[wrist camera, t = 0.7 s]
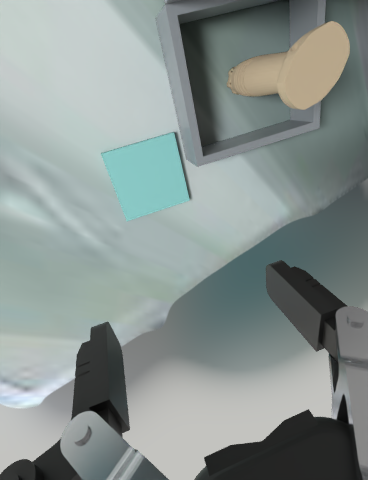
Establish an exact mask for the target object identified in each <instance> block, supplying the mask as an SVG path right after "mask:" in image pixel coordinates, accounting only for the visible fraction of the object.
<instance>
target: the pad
mask: <svg viewBox="0 0 368 480" xmlns="http://www.w3.org/2000/svg"><path fill="white" fill-rule="evenodd" d="M101 155H102V158H103V160H104V163H105V166H106V168H107V171H108V173H109V176H110V178H111V181H112V184H113V186H114V189H115V191H116V194H117V197H118V199H119V202H120V204H121V207H122V209H123V212H124V215H125V217H126V220H127V221H129V220H132V219H135V218H138V217H141V216H144V215H147V214H150V213H153V212H156V211H159V210H162V209H165V208H168V207H171V206H174V205H177V204H180V203H183V202H186V201H189V195H188V191H187V187H186V182H185V178H184V173H183V169H182V165H181V160H180V156H179V152H178V147H177V143H176V139H175V134H174V132H172V133H168V134H165V135H162V136H158V137H155V138H151V139H148V140H145V141H141V142H138V143H134V144H131V145H128V146H124V147H121V148H117V149H114V150H111V151H107V152H104V153H101Z"/></svg>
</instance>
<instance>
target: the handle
mask: <svg viewBox="0 0 368 480" xmlns="http://www.w3.org/2000/svg"><path fill="white" fill-rule="evenodd" d="M349 52H350V47H349V40H348V37H347V34H346V32H345V30H344V29H343V27H342V26H341V25H340V24H338V23H336V22H333V21H330V22H327V23H324V24H322V25H320V26H318V27H316V28H314V29H313V30H311V31H309V32H308V33H306V34H305V35H303V36H302V37H301V38H300V39H299V40H298V41H297V42H295V43H294V44H293V46H292V47H291V48H290V49H289V51H288V52H282V53H275V54H267V55H260V56H256V57H253V58H250V59H248V60H246V61H243V62H242V63H240V64H239V65H237V66H236V67H233V68H232V69H230V71H229V73H228V74H229V79H228V82H227V87H229V88H230V89H231V90H232V92H233V93H234V94H238V95H239V94H240V95H244V96H264V95H270V94H277V93H279V96H280V98H281V99H282V101H283V102H284V103H285V104H286V105H287V106H289V107H290V108H293V109H300V110H305V109H307V108H309V107H311V106H312V105H314V104H316V103H318V102H319V101H320V100H322V99H323V98H324V97H325V96H326V95H327V93H328V92H329V91H330V90H331V89H332V87H333V86H334V85H335V83H336V82H337V81H338V79H339V77H340V75H341V73H342V71H343V69H344V66H345V64H346V62H347V59H348V57H349Z"/></svg>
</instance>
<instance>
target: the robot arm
mask: <svg viewBox="0 0 368 480" xmlns="http://www.w3.org/2000/svg"><path fill="white" fill-rule="evenodd" d="M266 288H267V292H268V294H269V296H270V298H271V299H272V301H273V302H274V303H275V304H276V305H277V306H278V308H279V309H280V310H281V311H282V312H283V313H284V315H285V316H286V317H287V318H288V319H289V320H290V322H291V323H292V324H293V325H294V326H295V327H296V328H297V330H298V331H299V332H300V333H301V334H302V335H303V337H304V338H305V339H306V340H307V341H308V342H309V344H310V345H311V346H312V347H313V348H314V349H315V350H316V351H319V350H321V349H324V348H325V349H326V350H327V351H328V352H329V366H330V379H331V390H332V418H326V417H313V415H312V414H311V412H310V411H309V410H306V411H304V412H302V413H300V414H297V415H295V416H293V417H291V418H289V419H286V420H284V421H283V422H282V423H281V424H280V425H279V426H278V427H277V428H276V429H275V430H274V431H273V432H272V433H271V434H270V435H269V436H267V437H266V439H264V440H263V441H261V442H253V443H245V444H236V445H230V446H228V447H226V448H224V449H221V450H219V451H217V452H215V453H213V454H211V455H209V456H206V457H205V458H204V459H205V462H206V467H205V468H204V469H203V470H201V472H200V473H199V474H198V475H197V476H196V478H195V480H368V312H367V311H366V310H364V309H361V308H358V307H353V306H347V305H345V304H344V303H343V302H342V301H341V300H339V299H338V298H337V297H336V296H335V295H333V294H332V293H331V292H330V291H329V290H327V289H326V288H325V287H324V286H323V285H320V283H319V282H318V281H317V280H316V279H313V277H312V276H311V275H310V274H308V273H307V272H306V271H304V270H302V269H299V268H297V267H292V268H290V267H289V266H288V265H287V264H286V263H285V262H284V261H282V260H280V261H277V262H274V263H272V264H269V265H267V266H266ZM75 376H76V378H75V385H74V399H73V410H72V418H71V421H70V422H69V424H68V425H67V426H66V428H65V430H64V432H63V434H62V437H61V439H60V440H59V441H58V442H57V443H56V444H55V445H53V446H52V447H51V448H50V449H49V450H47V451H46V452H45V453H44V454H42V455H41V456H39V457H38V458H37V459H36V460H34V461H33V462H31V461H30V460H27V459H22V460H19V461H16V462H14V463H13V464H11V465H10V466H8V467H7V468H6V469H5V470H4V471H3V472H2V473H1V474H0V480H169V479H168V478H166V477H165V476H164V475H163V474H162V473H161V472H160V471H159V470H158V469H157V468H156V467H155V466H154V465H153V464H152V463H151V462H150V461H149V460H148V459H147V458H145V457H144V456H143V455H142V454H141V453H140V452H139V451H138V450H135V449H134V448H132V447H131V446H130V445H129V444H128V443H127V442H126V441H125V440H124V439H123V438H122V433H124V432H126V431H129V430H130V426H129V416H128V406H127V396H126V385H125V375H124V365H123V355H122V350H121V346H120V343H119V341H118V339H117V337H116V335H115V333H114V331H113V329H112V328H111V326H110V324H109V322H105V323H102V324H100V325H97V326H94V327H92V328H91V335H90V341H87V342H85V343H82V345H81V347H80V349H79V352H78V354H77V360H76V372H75Z"/></svg>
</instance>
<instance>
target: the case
mask: <svg viewBox="0 0 368 480" xmlns="http://www.w3.org/2000/svg"><path fill="white" fill-rule="evenodd" d="M164 1H165V5H164V7H163V8H162V9H161V11H160V12H159V14H158V15H157V17H156V23H157V27H158V32H159V36H160V41H161V46H162V50H163V55H164V59H165V64H166V69H167V73H168V78H169V82H170V87H171V92H172V96H173V101H174V105H175V110H176V114H177V119H178V124H179V128H180V133H181V137H182V142H183V147H184V151H185V156H186V159H187V160H188V161H190V162H191V163H193V164H194V165H196V166H197V167H198V166H201V165H204V164H208V163H211V162H214V161H217V160H220V159H223V158H227V157H230V156H233V155H236V154H239V153H242V152H246V151H249V150H252V149H255V148H258V147H261V146H264V145H268V144H271V143H274V142H277V141H280V140H283V139H287V138H290V137H293V136H296V135H299V134H302V133H306V132H309V131H312V130H315V129H318V128H320V108H321V100H320V101H319V102H318V103H316V104H314V105H312V106H311V107H309V108H307V109H305V110H300V109H293V108H290V120H288V121H285V122H282V123H278V124H275V125H272V126H269V127H265V128H262V129H259V130H255V131H252V132H249V133H246V134H242V135H239V136H236V137H233V138H229V139H226V140H223V141H220V142H216V143H213V144H210V145H207V146H203V147H201V142H200V136H199V131H198V125H197V120H196V114H195V109H194V103H193V98H192V93H191V87H190V82H189V76H188V71H187V65H186V60H185V54H184V49H183V43H182V38H181V32H180V27H179V24H182V23H186V22H190V21H195V20H199V19H203V18H207V17H211V16H216V15H220V14H224V13H228V12H232V11H237V10H241V9H245V8H249V7H254V6H258V5H262V4H266V3H270V2H275V1H279V0H164ZM289 7H290V48H291V47H292V46H293V44H294V43H295V42H297V41H298V40H299V39H300V38H301V37H302V36H303V35H305V34H306V33H308V32H309V31H311V30H313V29H314V28H316V27H318V26H320V25H322V24H324V23H325V8H326V0H289Z"/></svg>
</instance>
